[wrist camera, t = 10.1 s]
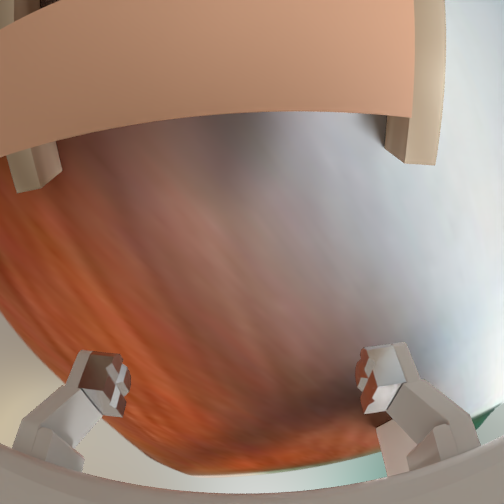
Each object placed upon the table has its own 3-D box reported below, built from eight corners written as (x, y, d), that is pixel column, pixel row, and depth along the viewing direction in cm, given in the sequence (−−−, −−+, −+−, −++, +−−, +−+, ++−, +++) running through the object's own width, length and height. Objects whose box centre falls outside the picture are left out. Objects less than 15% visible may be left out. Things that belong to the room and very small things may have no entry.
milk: (420, 401, 27) (468, 583, 8) (439, 410, 29) (483, 565, 11) (374, 428, 29) (408, 600, 11) (398, 434, 31) (431, 583, 13)
